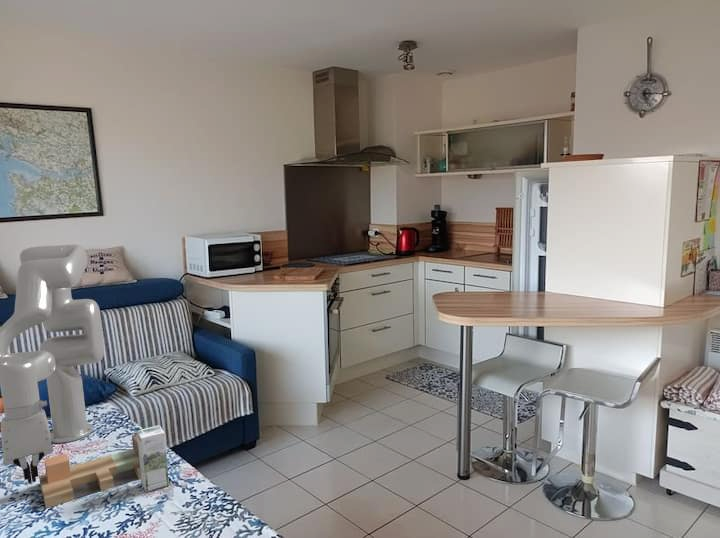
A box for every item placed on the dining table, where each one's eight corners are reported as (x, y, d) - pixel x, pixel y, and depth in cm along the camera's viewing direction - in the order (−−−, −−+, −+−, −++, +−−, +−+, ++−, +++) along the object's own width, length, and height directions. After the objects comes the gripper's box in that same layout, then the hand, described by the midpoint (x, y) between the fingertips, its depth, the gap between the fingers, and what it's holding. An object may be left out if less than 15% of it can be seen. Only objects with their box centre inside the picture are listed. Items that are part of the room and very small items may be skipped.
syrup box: (164, 476, 140) (159, 423, 138) (169, 486, 135) (164, 431, 133) (141, 483, 137) (135, 429, 135) (146, 493, 132) (140, 437, 130)
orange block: (46, 475, 138) (44, 459, 138) (68, 469, 141) (66, 453, 140) (48, 483, 134) (46, 466, 134) (70, 477, 137) (69, 460, 136)
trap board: (40, 484, 139) (37, 460, 138) (137, 456, 153) (135, 434, 152) (45, 508, 127) (42, 482, 127) (150, 475, 141) (148, 451, 140)
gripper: (55, 398, 139) (63, 465, 141) (-15, 413, 131) (-5, 484, 133) (59, 406, 133) (67, 476, 135) (-14, 423, 125) (-4, 497, 127)
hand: (31, 480), depth 134 cm, fingers closed
